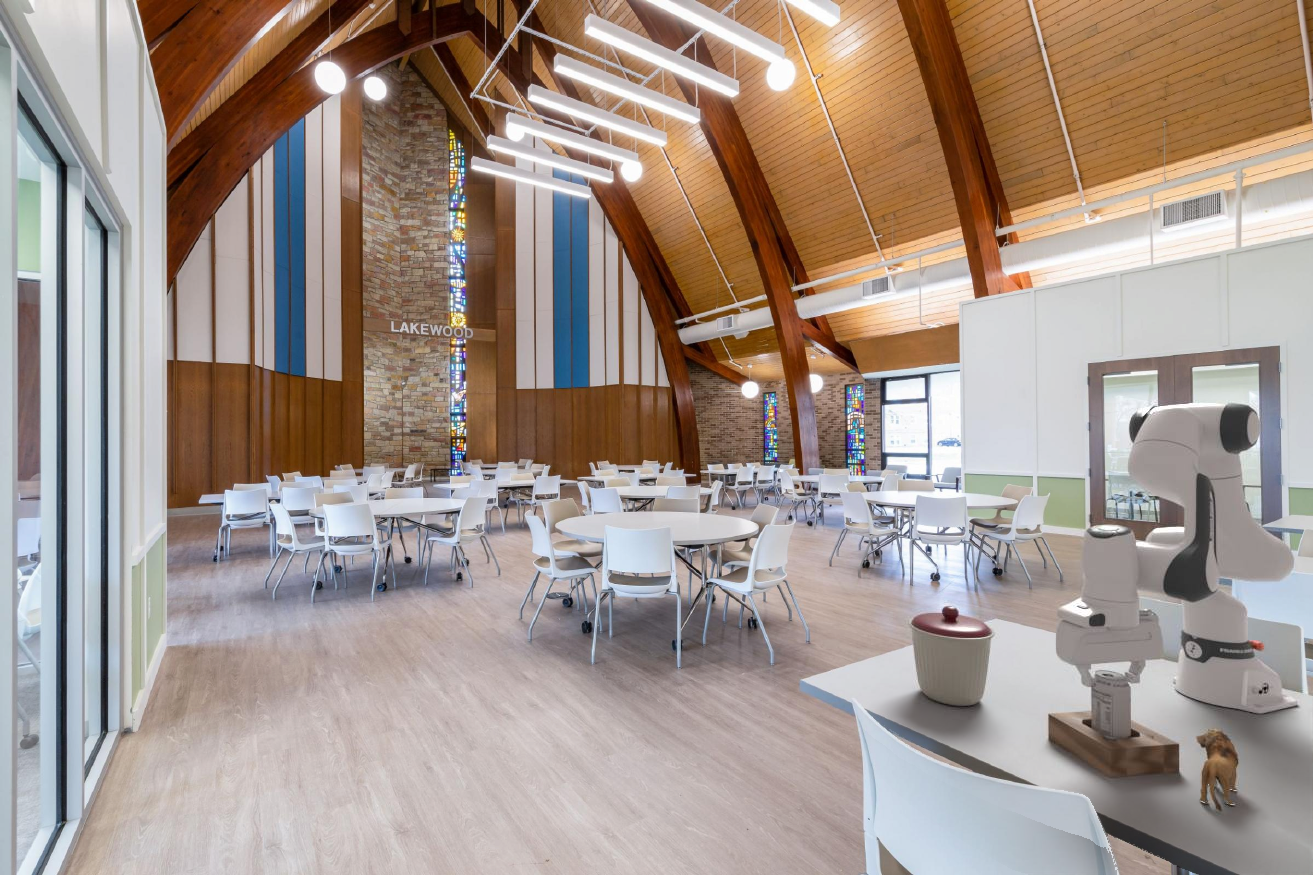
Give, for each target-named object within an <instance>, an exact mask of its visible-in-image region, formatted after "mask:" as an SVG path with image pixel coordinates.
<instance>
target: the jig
mask: <svg viewBox="0 0 1313 875" xmlns="http://www.w3.org/2000/svg"><path fill="white" fill-rule="evenodd" d="M1047 719H1048V722H1047V723H1048V724H1047V725H1048V728H1047V731H1048V732H1047V734H1048V735H1047V736H1048V738H1047V739H1048V740H1049V741H1051V742H1052V743H1054V744H1056V745H1057V746H1059V747H1060V748H1063V749H1064V750H1066V752H1068V753H1071V754H1072V755H1074V756H1075V757H1076V758H1079V759H1080V760H1082V761H1083V762H1085V763H1086V764H1088V765H1089V766H1091V767H1094V769H1097V770H1098V771H1100V772H1101V773H1102V774H1105V775H1106V776H1107V777H1110V778H1120V777H1132V776H1144V775H1154V774H1155V775H1157V774H1167V773H1169V774H1170V773H1177V772H1180V743H1179V742H1177V741H1175V740H1172V739H1170V738H1169V737H1167V736H1164V735H1163V734H1160V733H1158V732H1156V731H1154V730H1153V729H1150V728H1148V727H1146V726H1145V725H1143V724H1140V723H1138V722H1136V721H1134V720H1132V719H1131V738H1118V739H1117V738H1113V737H1109V736H1104V735H1102V734H1100V733H1099V732H1097V731H1095V730H1093V729H1091V710H1087V711H1085V710H1084V711H1072V712H1070V711H1069V712H1056V713H1055V712H1053V713H1048V716H1047Z"/></svg>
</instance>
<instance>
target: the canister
mask: <svg viewBox="0 0 1313 875" xmlns="http://www.w3.org/2000/svg"><path fill="white" fill-rule="evenodd" d="M907 623H908V626H909V627H910V628H911V629H910V630H911V636H912V647H913V654H914V656H913V657H914V662H915V663H914V664H915V670H916V671H915V672H916V678H917V681H918V682H917V683H918V686H919V689H920V690H921V691H922V693H923V694H924V695H925V696H926V697H927V698H929V699H931V700H933V701H936V702H938V703H940V704H941V703H942V704H945V705H950V706H956V707H966V706H967V707H968V706H973V705H977V704H978V703H979V702H980V701H981V700H982V699H983V696H984V693H985V690H986V685H987V684H986V682H987V677H988V670H989V669H988V668H989V662H990V661H989V660H990V651H991V643H992V638H994V637H995V633H996V632H995V631H994V629H993V628H992V627H990V626H988V625H987V624H986V623H985V622H983V621H982V620H979V619H976V618H974V617H970V616H966V615H961V614H960V612H959V610H958V609H957V607H955V606H951V605H947V606H944V607H942V610H941V612H926V613H925V612H924V613H921V614H917V615H916V616H914V617H912V618H910V619H909V620H908V622H907Z"/></svg>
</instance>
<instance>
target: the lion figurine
mask: <svg viewBox="0 0 1313 875" xmlns="http://www.w3.org/2000/svg"><path fill="white" fill-rule="evenodd" d="M1195 739H1196V742H1197V743H1198V744H1199V745H1200V747H1201V748H1202V749H1205V751H1206V756H1207V757H1206V758H1207V760H1205V761H1204V763H1203V766H1202V770H1201V779H1200V780H1201V782H1200V783H1201V787H1200V795H1201V796H1200V798H1199V801H1200V800H1201V801H1203V802H1205V803H1208V802H1209V803H1210V800H1209V799H1208V788H1209V792H1210V795H1211V799H1212V801H1213V803H1214V805H1215V809H1216V810H1217V811H1218V810H1219V812H1223V808H1222V806H1221V804H1220V803H1219V801H1218V799H1217V796H1216V793H1215V792H1216V791H1215V787H1214V786H1216V787H1217V786H1218V784H1219V785H1220V788H1221V789H1222V794H1221V795H1222V798H1223V800H1224V803H1225V802H1226V803H1228V804H1234V803H1235V801H1233V800H1232V799H1230V792H1231V791H1230V789H1232V790H1237V791H1238V788H1236V787H1235V785H1236V783H1237V782H1236V781H1237V778H1238V776H1237V774H1238V773H1237V767H1238V765H1239V763H1240V762H1239V755H1238V753H1237V752H1236V748H1235V744H1234V743H1233V742H1232V741H1231V739H1230V738H1229V736H1228V735H1227V734H1226V733H1224V732H1223V731H1222V730H1220V729H1217V728H1208V731H1207V732H1206V733H1203V734H1201V735H1196V736H1195ZM1208 784H1209V785H1208ZM1226 803H1225V804H1226Z"/></svg>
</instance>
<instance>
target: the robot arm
mask: <svg viewBox="0 0 1313 875" xmlns="http://www.w3.org/2000/svg"><path fill="white" fill-rule="evenodd" d="M1128 425H1129V426H1128V433H1129V438H1130V441H1131V442H1132V447H1131V450H1130V453H1129V454H1128V461H1127V471H1128V474H1129V477H1130V478H1131V480H1132V481H1133V482H1134V483H1135V484H1136V485H1137V486H1138V487H1140V488H1141V489H1143V490H1144V491H1146V492H1148V493H1149V494H1151V495H1154V496H1157V497H1159V498H1161V499H1165V500H1167V501H1170V502H1172V503H1174V504H1177V505H1179V506H1180V507H1182V508H1183V509H1184V512H1183V517H1184V518H1183V526H1167V527H1157V528H1154V529H1153V530H1151V531H1150V532H1149V533H1148V535H1147V536H1146V538H1145V541H1144V540H1139V539H1136V538H1135V533H1134V531H1133V530H1132V529H1131V528H1130V527H1127V526H1124V525H1120V524H1119V525H1117V524H1101V525H1100V524H1097V525H1094V526H1091V527H1089V528H1087V529H1086V530H1085V531H1084V534H1083V539H1082V544H1081V550H1080V551H1081V554H1080V572H1081V575H1082V578H1083V584H1082V587H1081V592H1080V595H1081V596H1080V597H1079V598H1076V599H1075V600H1073V601H1071V602H1069V603H1067V604H1064V605H1062V606H1060V607H1058V608H1057V611H1056V612H1057V618H1059V619H1060V621H1059V623H1058V624H1057V627H1056V632H1055V653H1056V655H1057V657H1058V658H1059V660H1061V661H1063V662H1065V663H1067V664H1069V665H1072V666H1075V668H1076V669H1077V671H1078V674H1080V675H1081V676H1080V677H1081V678H1080V680H1081V684H1082V686H1084V687H1086V688H1091V687H1094V686H1096V683H1095V682H1096V678H1095V677H1094V675H1093V676H1092V675H1091V672H1090V670H1091V669H1092V665H1099V664H1101V665H1102V664H1113V663H1114V664H1115V663H1125V662H1130V666H1129V668H1128V670H1127V671H1124V676H1126V678H1127V679H1126V680H1127V682H1128V683H1129V684H1140V683H1141V674H1142V673H1143V670H1144V669H1145V667H1146V661H1152V660H1153V661H1154V660H1155V661H1156V660H1161V659H1162V658H1163V656H1164V653H1165V647H1164V640H1163V639H1164V638H1163V633H1162V628H1161V626H1160V624H1159V621H1160V619H1159V615H1157V613H1156V612H1154V611H1153V610H1151V609H1148V608H1145V609H1144V608H1143V609H1140V596H1139V594H1138V591H1141V592H1148V593H1151V594H1158V595H1162V596H1168V597H1170V598H1173V599H1177V600H1181V601H1180V602H1181V608H1182V619H1183V620H1182V621H1183V629H1182V630H1181V631H1180V636H1179V637H1180V645H1181V646H1182V649H1180V650H1179V653H1178V663H1177V671H1176V676H1173V680H1172V681H1173V683H1175V685H1174V689H1175V690H1176V691H1177V692H1179V693H1180V694H1182V695H1184V696H1186V697H1189V698H1191V699H1193V700H1197V701H1200V702H1203V703H1207V704H1209V705H1210V704H1211V705H1215V706H1219V707H1224V708H1230V709H1238V710H1241V711H1245V712H1248V713H1249V712H1251V713H1254V714H1265V713H1270V712H1274V711H1278V710H1282V709H1286V708H1290V707H1295V706H1298V704H1299V703H1298V700H1297V699H1296V698H1294V697H1292V696H1290V695H1289V694H1286V693H1284V692H1283V685H1282V679H1281V677H1280V675H1279V674H1278V673H1277V672H1275V671H1274V670H1273V669H1271V668H1270V667H1269V666H1267V665H1266V663H1263V662H1262V661H1261V660H1260V659H1258V658H1257V657H1256V655H1255V652H1254V650H1257V651H1258V652H1262V651H1264V649H1265V644H1264V643H1263V642H1261V641H1256V640H1255V639H1254V640H1253V639H1251V640H1249V639H1248V638H1249V637H1248V636H1249V634H1248V632H1249V631H1248V627H1249V626H1248V609H1247V608H1246V605H1244V603H1243V602H1242V601H1241V600H1239V599H1238V598H1236V597H1235V596H1233V595H1232V594H1230V593H1228V592H1226V591H1223V590H1222V589H1220V588H1219V584H1220V578H1223V579H1229V580H1237V581H1244V582H1251V583H1252V582H1253V583H1256V582H1259V583H1261V582H1263V583H1265V582H1267V583H1270V582H1272V583H1273V582H1281V581H1283V580H1285V579H1286V578H1287V577H1288V576H1289V575H1290V574H1291V573H1292V571H1293V568H1294V565H1295V557H1294V555H1293V554H1294V553H1293V552H1292V550H1291V548H1290V547H1289V546H1288V545H1287V543H1285V542H1284V541H1283V540H1282V539H1280V538H1278V537H1277V536H1275V535H1274V534H1272V533H1271V532H1269V531H1268V530H1266V529H1265V528H1264V527H1262V525H1260V524H1259V522H1257V521H1256V519H1255V517H1253V515H1252V514H1251V513H1250V511H1249V509H1248V505H1247V503H1246V498H1245V493H1244V484H1243V473H1242V472H1243V471H1242V470H1243V469H1242V462H1241V456H1240V454H1241V452H1244V451H1245V452H1246V451H1248V450H1249V449H1251V448H1252V447H1254V446H1255V445H1256V444H1257V442H1258V439H1259V437H1260V435H1261V431H1262V427H1261V426H1262V425H1261V420H1260V417H1259V415H1258V413H1257V411H1256V410H1255V409H1254V408H1252V407H1251V406H1250V405H1248V404H1242V403H1237V402H1236V403H1235V402H1234V403H1233V402H1228V403H1214V402H1213V403H1212V402H1190V403H1185V404H1184V403H1183V404H1182V403H1181V404H1169V405H1163V406H1157V405H1152V406H1147V407H1143V408H1140V409H1138V410H1137V411H1136V412H1135V413H1133V414H1132V416H1131V418H1130V420H1129V424H1128Z"/></svg>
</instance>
